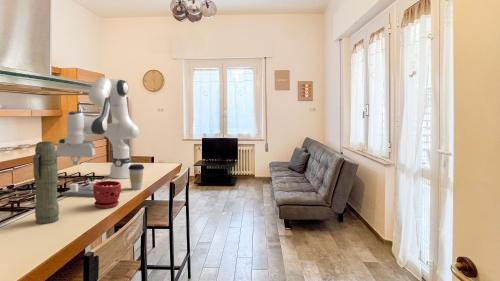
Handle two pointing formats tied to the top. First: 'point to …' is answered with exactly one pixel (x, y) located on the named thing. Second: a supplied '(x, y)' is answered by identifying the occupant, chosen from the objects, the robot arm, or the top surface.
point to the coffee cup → (136, 176)
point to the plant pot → (106, 193)
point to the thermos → (46, 183)
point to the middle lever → (91, 185)
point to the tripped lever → (73, 187)
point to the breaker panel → (80, 192)
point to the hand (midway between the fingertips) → (76, 164)
